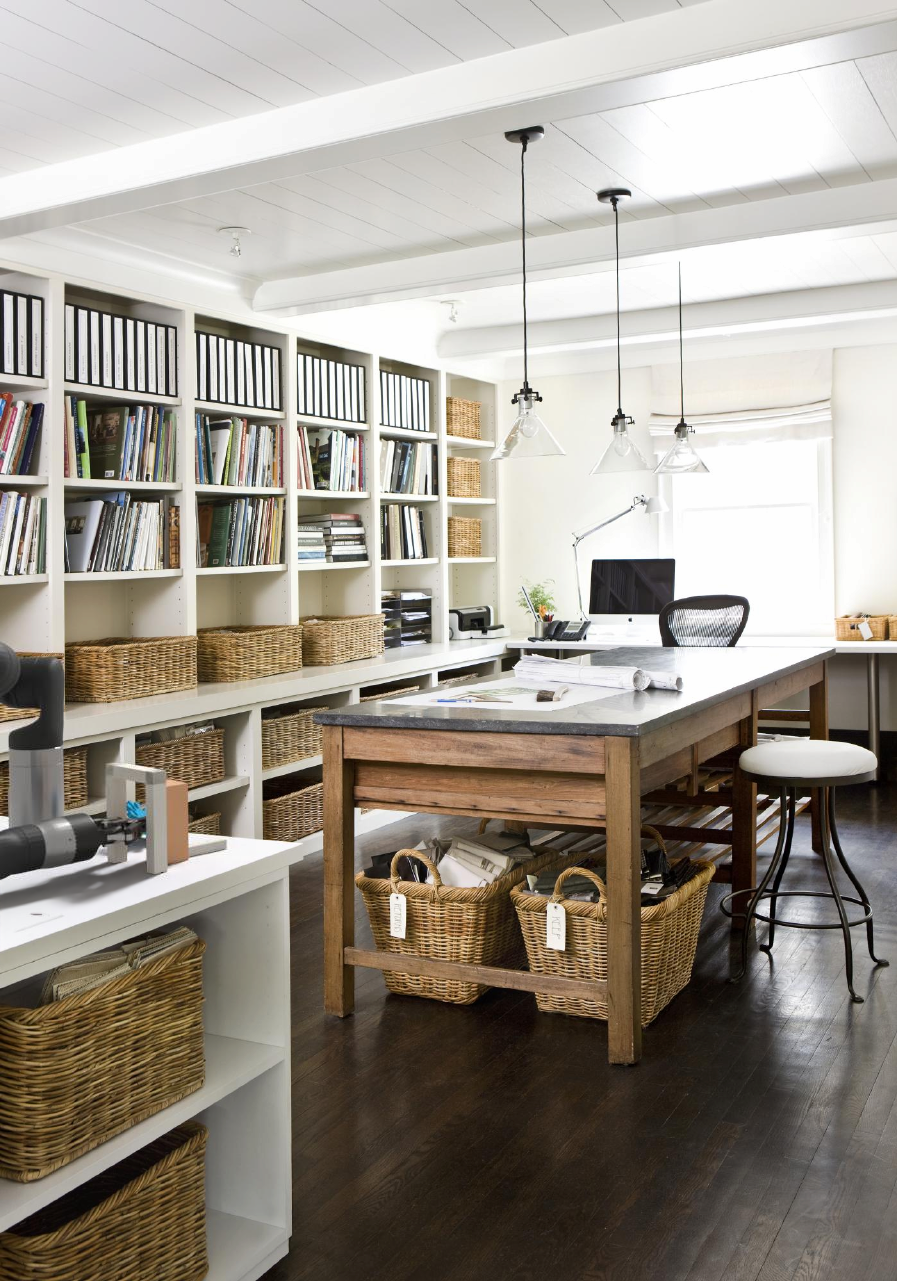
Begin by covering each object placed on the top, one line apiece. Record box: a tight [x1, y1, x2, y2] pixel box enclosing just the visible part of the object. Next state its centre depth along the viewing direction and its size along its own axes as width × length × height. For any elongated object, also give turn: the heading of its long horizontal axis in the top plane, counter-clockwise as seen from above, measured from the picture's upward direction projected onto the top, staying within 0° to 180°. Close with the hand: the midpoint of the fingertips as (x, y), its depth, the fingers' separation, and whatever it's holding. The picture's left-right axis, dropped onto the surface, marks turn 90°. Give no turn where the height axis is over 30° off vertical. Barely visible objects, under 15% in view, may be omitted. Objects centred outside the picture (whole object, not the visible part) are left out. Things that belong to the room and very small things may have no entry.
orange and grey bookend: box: [144, 779, 228, 865], centre depth 197 cm, size 5×14×13 cm, turn 137°
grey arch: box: [105, 761, 168, 875], centre depth 189 cm, size 13×2×16 cm, turn 50°
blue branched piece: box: [126, 800, 146, 837], centre depth 207 cm, size 11×6×10 cm
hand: (153, 822), depth 192 cm, fingers closed
